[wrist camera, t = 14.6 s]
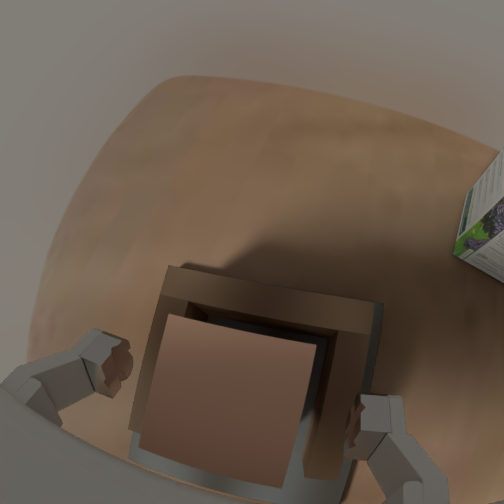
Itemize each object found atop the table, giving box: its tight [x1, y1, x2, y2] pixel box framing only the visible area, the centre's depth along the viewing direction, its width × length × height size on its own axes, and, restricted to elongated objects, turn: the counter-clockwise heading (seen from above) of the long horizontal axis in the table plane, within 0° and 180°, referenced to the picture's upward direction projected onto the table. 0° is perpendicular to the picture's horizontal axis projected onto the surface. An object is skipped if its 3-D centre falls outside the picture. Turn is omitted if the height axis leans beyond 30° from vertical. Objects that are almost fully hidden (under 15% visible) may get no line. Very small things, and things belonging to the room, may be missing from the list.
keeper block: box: [138, 314, 317, 489], centre depth 13 cm, size 4×4×9 cm
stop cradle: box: [128, 265, 384, 504], centre depth 15 cm, size 13×13×5 cm
